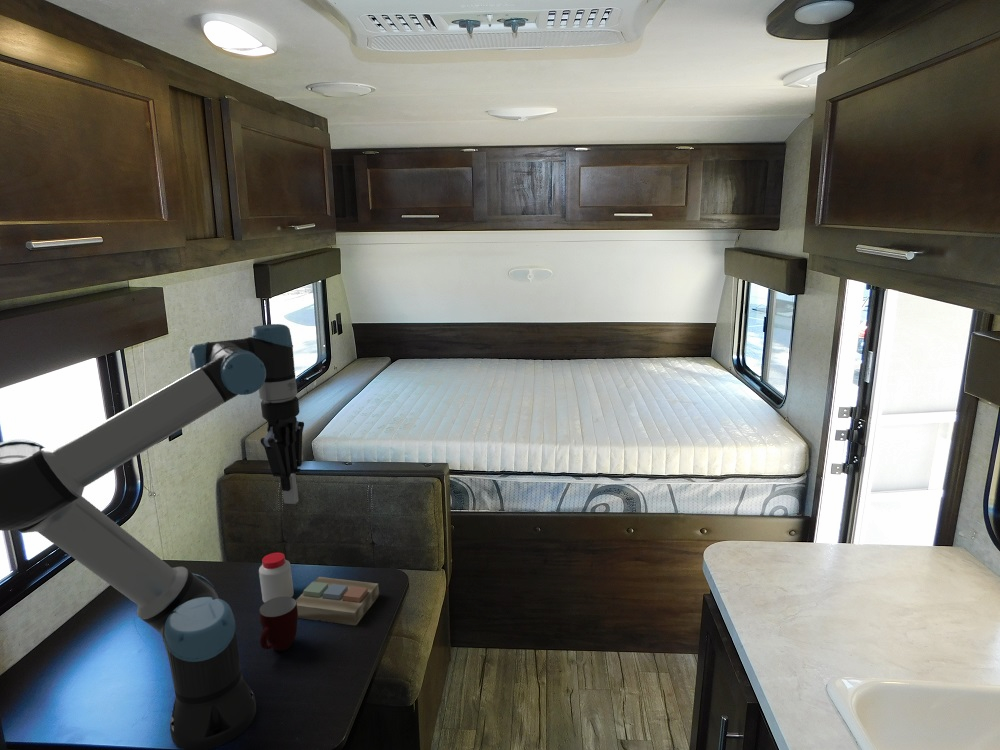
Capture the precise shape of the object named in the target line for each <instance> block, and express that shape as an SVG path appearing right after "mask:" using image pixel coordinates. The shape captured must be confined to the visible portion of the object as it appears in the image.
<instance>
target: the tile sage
mask: <svg viewBox="0 0 1000 750" xmlns="http://www.w3.org/2000/svg"><path fill="white" fill-rule="evenodd" d="M327 589H328V583H321V582H314V581H311V583H309V585H307V586H306V587H305V588H304V590H303V591H302V593H304V596H307V597H315V598H321V597H322V595H323V593H324V592H325V591H326V590H327Z"/></svg>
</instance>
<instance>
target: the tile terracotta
mask: <svg viewBox="0 0 1000 750" xmlns="http://www.w3.org/2000/svg"><path fill="white" fill-rule="evenodd" d="M367 594H368V588H364V587H355V586H351V587H350V588H349V590H348V591H347V592H346V593H345V594H344V595H343V599H344V601H347V602H355V603H361V602H362V601H363V599H364V598H365V597H366V596H367Z"/></svg>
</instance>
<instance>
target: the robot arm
mask: <svg viewBox="0 0 1000 750" xmlns="http://www.w3.org/2000/svg"><path fill="white" fill-rule="evenodd" d="M188 351H189V352H188V353H189V354H188V357H189V363H190V364H189V365H190V369H191V370H190V371H191V372H190V373H188V374H185V375H184V376H183V377H181V378H179V379H177V380H175V381H174V382H172V383H170V384H169V385H167V386H165V387H163V388H161V389H160V390H158V391H155V392H154V393H152V394H150V395H148V396H147V397H145V398H142V400H140V401H137V403H134V404H133V405H131V406H128V408H126V409H124V410H122V411H120V412H118V413H116V414H115V415H113V416H111V417H109V418H108V419H105V421H102V422H101V423H99V424H97V425H96V426H93V427H92V428H90V429H89V430H87V431H85V432H83V433H81V434H80V435H78V436H76V437H74V438H72V439H71V440H69V441H67V442H65V443H63V444H62V445H60V446H58V447H56V448H47V447H44V446H43V444H40V443H38V442H36V441H32V440H27V439H9V440H6V441H2V442H1V441H0V532H1V531H4V532H5V531H6V532H7V531H16V530H17V531H19V532H20V533H21V534H26V533H33V532H34V533H35V532H36V533H39V534H40V535H41V536H42V537H44V538H45V539H47V540H49V542H51V543H52V544H53V545H55V546H57V547H58V548H59V549H61V550H62V551H63V552H65V554H67V555H68V556H70V557H71V558H72V559H74V560H75V561H76V562H78V563H80V564H81V565H82V566H84V567H85V568H86V569H88V570H89V571H91V572H92V573H93V574H95V575H96V576H97V577H98V578H100V579H101V580H102V581H104V582H106V583H107V584H108V585H109V586H111V587H113V588H114V589H115V590H117V591H118V592H119V593H121V594H122V595H123V596H125V597H126V598H128V599H129V600H130V601H131V602H132V603H135V604H136V605H137V609H136V610H137V611H136V614H137V617H138V618H139V619H140V620H142V621H144V623H146V624H147V625H149V626H150V627H152V628H153V629H155V631H157V632H158V633H159V634H160V635H161V637H162V641H163V643H164V647H165V651H166V655H167V658H168V661H169V666H170V673H171V677H172V678H171V679H172V684H173V689H174V695H175V698H174V703H173V707H172V713H171V717H170V721H169V729H170V735H171V736H170V737H171V739H172V742H173V743H175V744H176V745H177V746H176V745H175V744H174V745H175V746H176V747H177V748H179V747H180V749H182V750H212V749H215V748H219V747H221V746H223V745H226V744H228V743H229V742H231V741H233V740H235V739H236V738H237V737H238V736H240V735H241V734H242V733H243V732H244V731H246V730H247V729H248V728H249V726H250V725H251V723H253V720H254V719H255V717H256V713H257V703H256V697H255V694H254V692H253V690H252V689H251V687H250V686H249V683H247V681H246V678H245V677H244V675H243V673H242V668H241V660H240V653H239V647H238V646H239V645H238V640H237V639H238V638H237V634H236V620H235V616H234V614H233V610H232V608H231V606H230V605H229V603H228V602H227V601H225V600H224V599H221V598H219V595H218V592H217V590H216V588H215V587H214V585H213V584H212V582H210V580H208V579H207V578H206V577H204V576H202V575H200V574H197V573H193V572H191V571H190V570H189V569H188V568H186V567H185V566H176V567H171V566H170V565H169V564H168V563H167V562H166V561H164V560H163V559H161V558H160V557H159V556H158V555H156V554H155V553H154V552H152V551H151V550H150V549H149V548H148V547H146V546H145V545H144V544H143V543H141V542H140V541H139V540H137V539H136V538H135V537H133V535H131V534H130V533H128V532H127V531H126V530H125V529H124V528H122V527H121V526H120V525H119V524H117V522H115V521H114V520H113V519H111V518H110V517H109V516H108V515H106V514H105V513H104V512H102V510H100V509H99V508H97V507H96V506H95V505H94V504H93V503H91V502H90V501H88V500H87V499H86V498H85V497H84V496H83V493H84V490H85V488H86V487H87V486H88V485H91V484H92V483H94V482H95V481H98V480H99V479H100V478H103V476H105V475H107V474H109V473H110V472H111V471H113V470H116V469H117V468H118V467H120V466H122V465H123V464H125V463H127V462H128V461H131V460H132V459H133V458H135V457H137V456H139V455H141V454H142V453H144V452H145V451H147V450H149V449H151V447H153V446H155V445H157V444H158V443H161V442H162V441H164V440H165V439H167V438H168V437H170V436H172V435H174V434H175V433H176V432H178V431H180V430H182V429H184V428H185V427H187V426H189V425H190V424H192V423H194V422H195V421H197V420H199V419H200V418H202V417H203V416H205V415H207V414H208V413H210V412H212V411H213V410H215V409H216V408H219V407H220V406H221V405H224V404H225V403H227V402H228V401H231V400H233V399H234V398H235V397H237V396H239V395H241V396H247V395H252V394H254V393H256V392H258V393H259V398H260V400H261V401H260V407H261V408H260V409H261V416H262V418H263V419H264V420H266V422H267V426H266V427H267V428H266V432H267V434H266V436H265V437H261V438H260V443H261V445H262V447H263V448H264V450H265V454H266V457H267V460H268V464H269V466H270V467H269V468H270V471H271V474H272V477H277V478H280V487H281V491H282V498H283V503H284V504H288V505H289V504H290V505H296V504H297V503H298V502H299V501H300V499H299V492H298V480H297V473H300V472H301V468H299V467H301V466H302V462H303V459H302V458H303V456H302V455H303V432H304V427H305V423H304V421H298V420H297V416H298V415H299V414H300V404H299V403H300V402H299V398H298V397H297V395H298V388H297V387H298V385H297V379H296V370H295V359H294V358H295V357H294V345H293V339H292V334H291V331H290V328H289V326H287V325H286V324H280V323H279V324H278V323H276V324H275V323H272V324H262V325H257V326H253V328H251V336H248V337H245V338H239V339H238V338H237V339H229V340H220V341H219V340H218V341H211V342H210V341H206V342H204V343H198V344H194V345H191V346H190V348H189V350H188Z"/></svg>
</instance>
